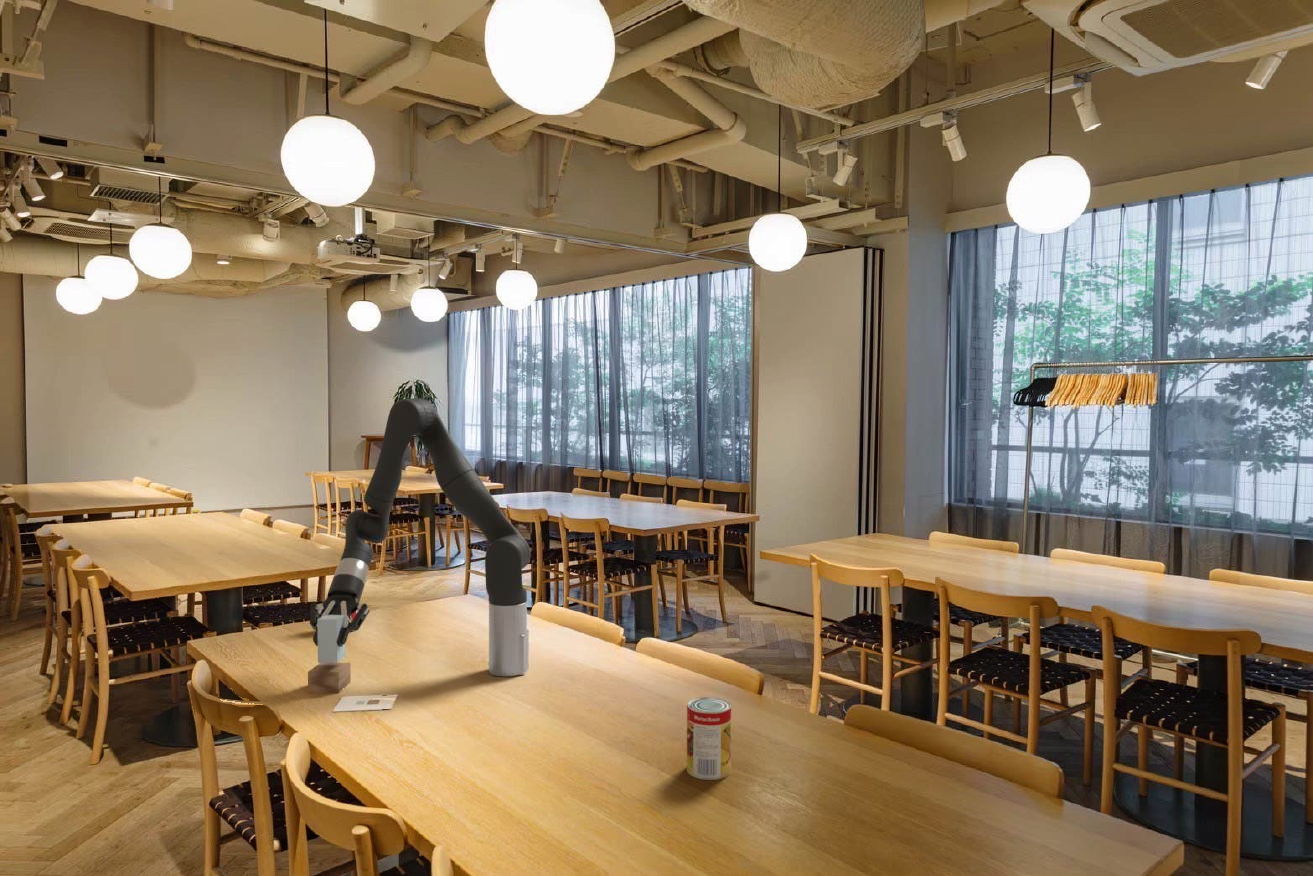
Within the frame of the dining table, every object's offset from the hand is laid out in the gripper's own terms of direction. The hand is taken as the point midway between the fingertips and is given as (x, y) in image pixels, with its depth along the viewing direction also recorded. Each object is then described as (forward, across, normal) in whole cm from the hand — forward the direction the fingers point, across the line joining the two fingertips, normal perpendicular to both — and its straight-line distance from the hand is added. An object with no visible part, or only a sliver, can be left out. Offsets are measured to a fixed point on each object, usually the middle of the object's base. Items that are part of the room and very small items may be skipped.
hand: (328, 644), depth 190 cm
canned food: (+35, +86, -19) cm, 95 cm away
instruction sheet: (+13, +12, +2) cm, 18 cm away
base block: (+7, 0, +9) cm, 11 cm away
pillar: (+2, 0, +4) cm, 5 cm away
